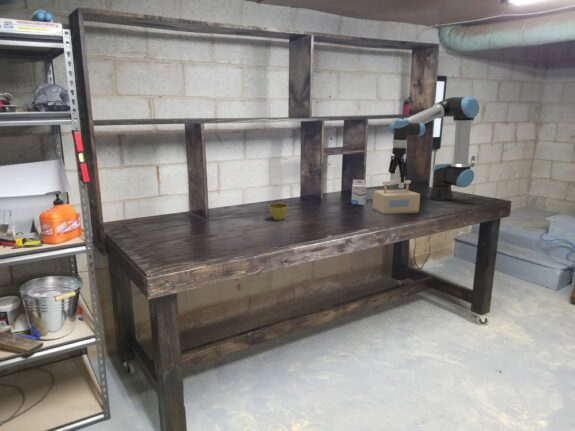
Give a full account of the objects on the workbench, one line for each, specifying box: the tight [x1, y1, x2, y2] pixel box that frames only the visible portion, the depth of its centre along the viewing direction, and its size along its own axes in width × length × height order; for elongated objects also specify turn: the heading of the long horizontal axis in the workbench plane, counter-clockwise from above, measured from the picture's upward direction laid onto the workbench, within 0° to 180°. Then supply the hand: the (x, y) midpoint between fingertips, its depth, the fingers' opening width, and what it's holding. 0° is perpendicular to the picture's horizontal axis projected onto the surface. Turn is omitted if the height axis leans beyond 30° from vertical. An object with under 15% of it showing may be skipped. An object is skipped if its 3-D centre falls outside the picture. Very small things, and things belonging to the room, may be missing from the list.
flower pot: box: [268, 203, 289, 221], centre depth 235 cm, size 10×10×7 cm
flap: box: [374, 179, 413, 193], centre depth 256 cm, size 21×8×7 cm, turn 105°
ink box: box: [350, 179, 368, 206], centre depth 271 cm, size 9×5×15 cm, turn 84°
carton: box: [372, 191, 421, 215], centre depth 255 cm, size 22×14×11 cm, turn 105°
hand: (396, 186), depth 254 cm, fingers open, 10 cm apart
